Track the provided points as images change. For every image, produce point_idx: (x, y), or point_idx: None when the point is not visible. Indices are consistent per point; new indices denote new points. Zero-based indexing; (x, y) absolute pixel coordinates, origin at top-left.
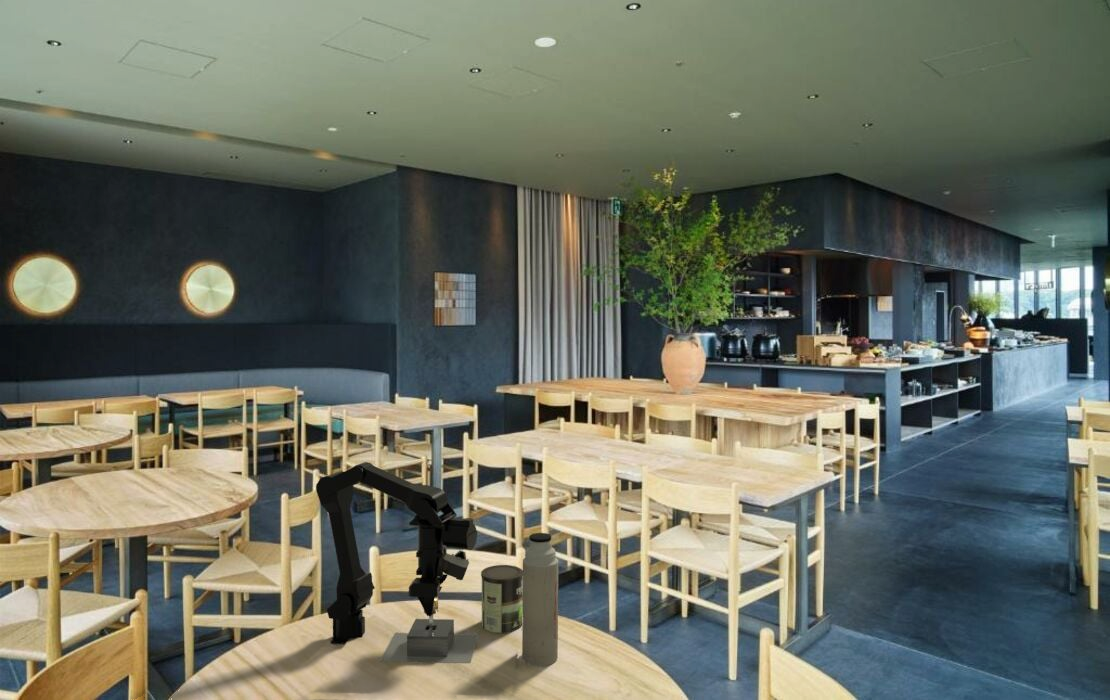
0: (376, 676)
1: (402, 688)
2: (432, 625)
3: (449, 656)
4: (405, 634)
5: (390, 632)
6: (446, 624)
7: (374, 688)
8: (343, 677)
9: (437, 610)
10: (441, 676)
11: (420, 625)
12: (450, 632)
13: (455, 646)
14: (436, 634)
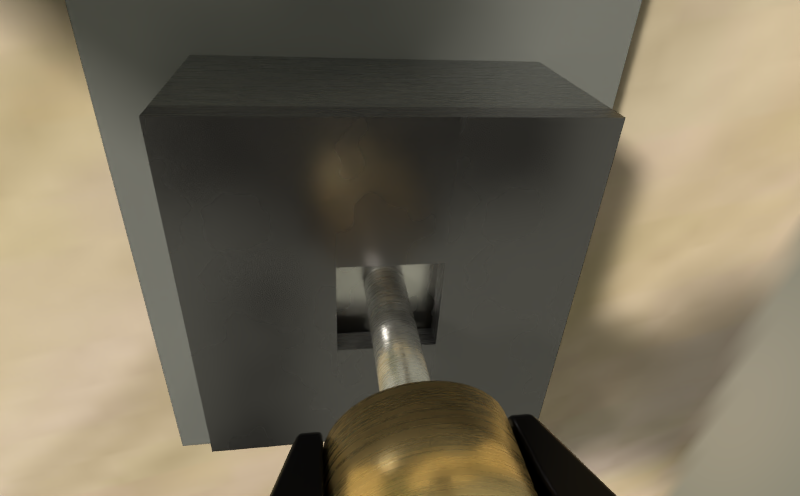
0: (618, 380)
1: (773, 251)
2: (406, 312)
3: (534, 44)
4: (190, 396)
5: (131, 456)
6: (305, 181)
7: (722, 358)
8: (593, 472)
9: (455, 403)
10: (727, 62)
11: (344, 391)
12: (406, 101)
13: (347, 15)
14: (545, 233)
